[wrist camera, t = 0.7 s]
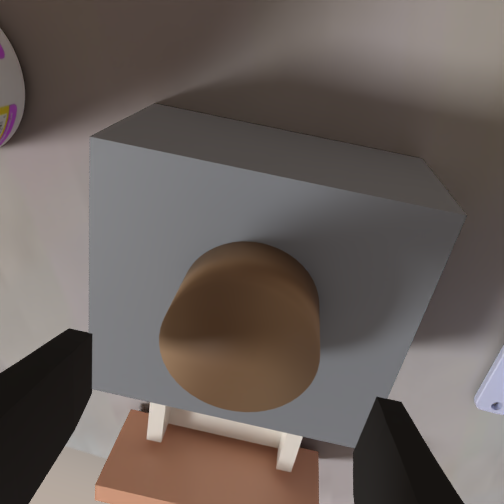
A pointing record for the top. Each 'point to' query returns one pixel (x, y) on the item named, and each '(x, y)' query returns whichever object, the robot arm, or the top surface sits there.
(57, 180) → the top surface
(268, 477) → the drawer
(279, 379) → the walnut puck
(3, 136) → the supplement bottle
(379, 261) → the storage box
